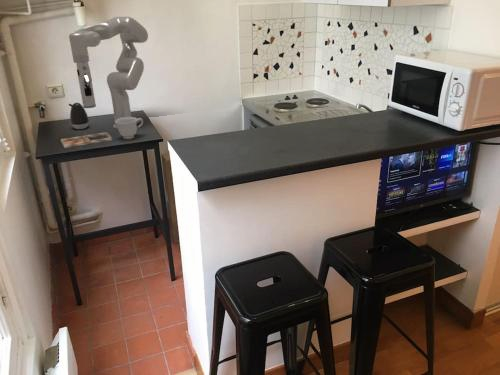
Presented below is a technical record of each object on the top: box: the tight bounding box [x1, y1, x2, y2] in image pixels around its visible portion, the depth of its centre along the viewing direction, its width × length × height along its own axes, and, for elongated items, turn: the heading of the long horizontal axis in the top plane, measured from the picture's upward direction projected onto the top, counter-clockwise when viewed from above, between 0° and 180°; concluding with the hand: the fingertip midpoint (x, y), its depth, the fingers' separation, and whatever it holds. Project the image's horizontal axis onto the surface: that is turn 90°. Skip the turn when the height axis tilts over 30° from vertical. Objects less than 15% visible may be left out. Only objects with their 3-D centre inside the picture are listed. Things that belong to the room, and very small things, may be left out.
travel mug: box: [76, 69, 97, 109], centre depth 217 cm, size 6×7×20 cm
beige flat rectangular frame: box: [60, 131, 113, 149], centre depth 227 cm, size 24×12×1 cm, turn 119°
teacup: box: [114, 116, 144, 140], centre depth 229 cm, size 12×15×10 cm
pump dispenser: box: [68, 102, 90, 130], centre depth 246 cm, size 10×10×15 cm
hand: (87, 94), depth 219 cm, fingers closed on travel mug, 6 cm apart
